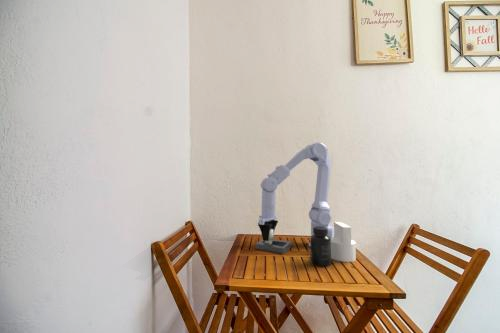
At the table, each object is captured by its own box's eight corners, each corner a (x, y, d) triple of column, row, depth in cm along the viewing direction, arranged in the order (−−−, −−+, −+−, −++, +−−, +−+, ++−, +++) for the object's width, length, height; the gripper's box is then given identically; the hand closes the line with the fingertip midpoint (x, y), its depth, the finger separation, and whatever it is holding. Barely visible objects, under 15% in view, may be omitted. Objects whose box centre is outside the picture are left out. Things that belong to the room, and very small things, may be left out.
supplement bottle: (331, 261, 79) (331, 226, 80) (331, 268, 73) (331, 231, 73) (310, 258, 81) (311, 224, 82) (309, 265, 75) (309, 229, 75)
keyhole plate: (291, 246, 94) (291, 241, 94) (283, 253, 85) (283, 248, 85) (265, 242, 100) (265, 237, 100) (255, 248, 91) (255, 243, 91)
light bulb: (275, 246, 94) (275, 229, 95) (270, 248, 91) (270, 231, 91) (265, 244, 97) (266, 227, 97) (260, 246, 93) (261, 229, 93)
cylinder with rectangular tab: (326, 252, 88) (326, 221, 88) (349, 253, 88) (349, 222, 88) (334, 261, 79) (334, 227, 79) (360, 262, 79) (360, 227, 79)
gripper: (266, 203, 103) (266, 233, 102) (252, 207, 90) (251, 241, 89) (281, 204, 99) (280, 235, 99) (268, 209, 86) (267, 244, 86)
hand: (268, 238), depth 94 cm, fingers closed on light bulb, 4 cm apart
